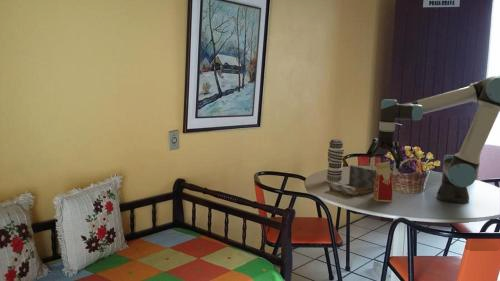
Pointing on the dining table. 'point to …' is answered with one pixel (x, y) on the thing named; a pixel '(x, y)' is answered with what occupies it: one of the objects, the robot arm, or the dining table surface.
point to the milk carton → (383, 183)
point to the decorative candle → (335, 161)
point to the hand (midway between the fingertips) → (383, 172)
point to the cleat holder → (356, 182)
